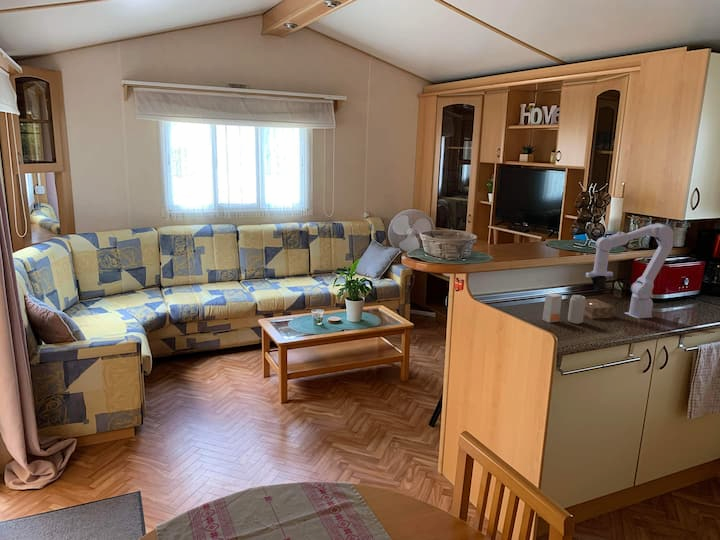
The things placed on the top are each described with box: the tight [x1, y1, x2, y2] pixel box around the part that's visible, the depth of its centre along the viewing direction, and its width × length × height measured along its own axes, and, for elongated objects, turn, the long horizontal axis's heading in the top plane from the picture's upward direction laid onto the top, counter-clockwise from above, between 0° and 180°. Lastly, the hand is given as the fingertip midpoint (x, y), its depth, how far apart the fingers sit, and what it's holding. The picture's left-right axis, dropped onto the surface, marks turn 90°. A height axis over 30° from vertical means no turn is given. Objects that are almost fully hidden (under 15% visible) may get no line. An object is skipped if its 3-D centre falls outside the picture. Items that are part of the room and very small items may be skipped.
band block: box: [584, 298, 616, 320], centre depth 260 cm, size 13×13×5 cm
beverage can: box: [567, 294, 587, 325], centre depth 245 cm, size 6×6×12 cm
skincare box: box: [541, 293, 563, 323], centre depth 245 cm, size 6×4×12 cm
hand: (596, 291), depth 261 cm, fingers closed
